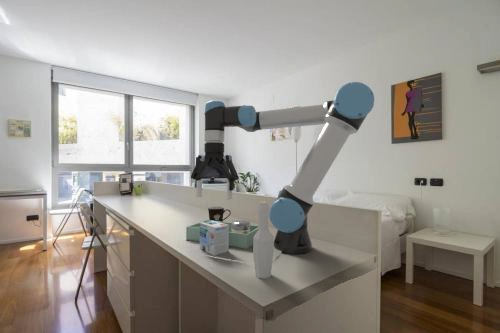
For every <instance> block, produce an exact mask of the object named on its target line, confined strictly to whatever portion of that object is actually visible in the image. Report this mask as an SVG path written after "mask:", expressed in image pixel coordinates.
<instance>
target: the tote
mask: <svg viewBox="0 0 500 333" xmlns="http://www.w3.org/2000/svg"><path fill="white" fill-rule="evenodd" d="M207 221H212V220H209V219H205V220H202V221H200V222H196V223H194V224H193V223H192V224H190V225H187V226H186V230H185V231H186V232H185V234H186V237H185V238H186V239H185V240H186V241H189V242H190V241H195V242H200V223H201V222H207ZM217 222H220V223H224V224H227V225H229V247H233V248H239V249H249V248H250V247H253V238H254V235H255V234H256V233H257V231H258V230H259V225H253V224H250V232H249V233H247V234H242V233H235V232H231V222H228V221H223V222H221V221H217Z"/></svg>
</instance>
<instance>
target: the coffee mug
mask: <svg viewBox="0 0 500 333" xmlns="http://www.w3.org/2000/svg"><path fill="white" fill-rule="evenodd" d="M207 209H208V210H207V211H208V217H209V219H208V220H212V221H213V220H214V221H221V222H224V221H225V220H227V219H228V218H229V216H230V215H231V214H232V213H231V210H230V209H225V207H224V206H217V205H215V206H210V207H207ZM226 211H228V212H229V214H228V215H227V216H226V217H224V214H225V212H226Z"/></svg>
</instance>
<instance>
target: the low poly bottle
mask: <svg viewBox="0 0 500 333" xmlns="http://www.w3.org/2000/svg"><path fill="white" fill-rule="evenodd" d="M269 206H270V205H269V203H268V201H259V206H258V207H257V208H258V209H257V211H258V226H259V230H258V231H257V233H256V234H255V235H254V238H253V245H252V249H253V250H252V252H253V263H254V264H253V265H254V271H255V272H254V273H255V277H256V278H258V279H269V278H271V276H272V266H273V259H274V239H275V236H273V234H272V233H271V231H270V230H269V217H270V216H269V212H270V207H269Z"/></svg>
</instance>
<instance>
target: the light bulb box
mask: <svg viewBox="0 0 500 333" xmlns="http://www.w3.org/2000/svg"><path fill="white" fill-rule="evenodd" d="M200 222H201V223H200V241H199V249H200V250H202V251H203V252H206V253H208V254H210V256H211V257H213V258H214V257H217V256H218V255H221V254H225V253H228V252H229V250H230V248H229V247H230V246H229V225H227V224H224V223H220V222H217V221H214V220H213V221H207V222H202V221H200Z"/></svg>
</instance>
